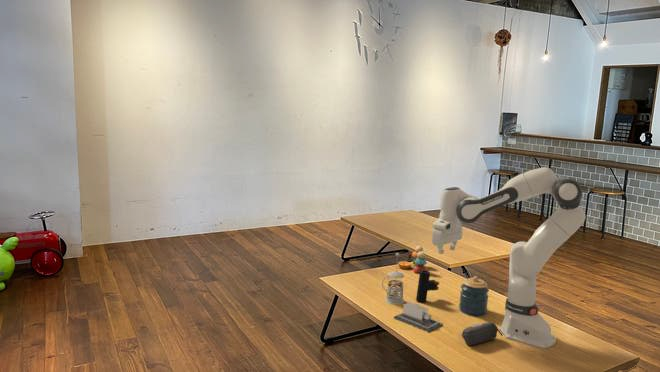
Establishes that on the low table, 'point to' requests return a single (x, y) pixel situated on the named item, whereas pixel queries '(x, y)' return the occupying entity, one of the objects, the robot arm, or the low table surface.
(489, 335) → the glasses case
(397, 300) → the french press
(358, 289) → the low table surface
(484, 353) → the low table surface
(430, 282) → the pipe connector
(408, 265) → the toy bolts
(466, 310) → the canister
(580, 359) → the low table surface
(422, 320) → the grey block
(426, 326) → the plate
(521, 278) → the robot arm
